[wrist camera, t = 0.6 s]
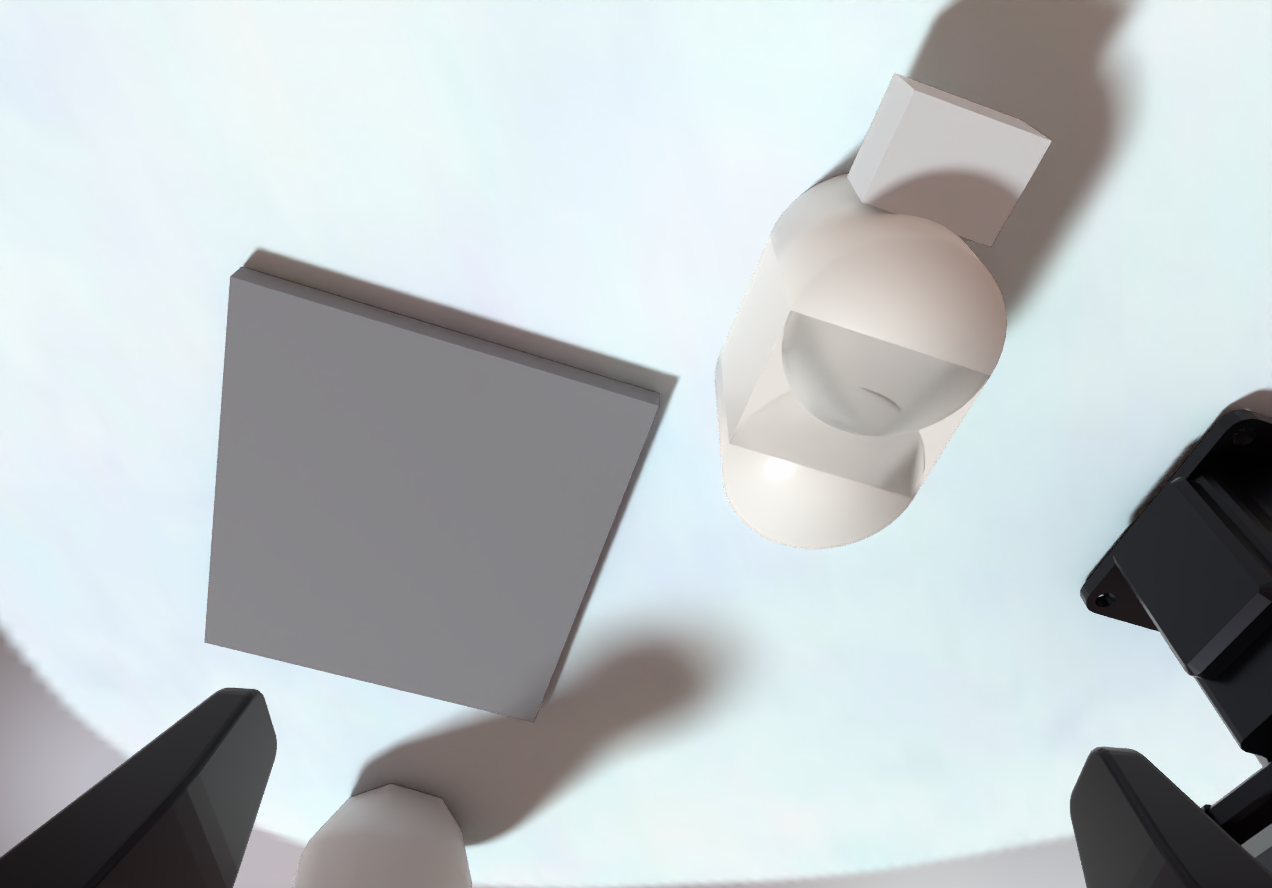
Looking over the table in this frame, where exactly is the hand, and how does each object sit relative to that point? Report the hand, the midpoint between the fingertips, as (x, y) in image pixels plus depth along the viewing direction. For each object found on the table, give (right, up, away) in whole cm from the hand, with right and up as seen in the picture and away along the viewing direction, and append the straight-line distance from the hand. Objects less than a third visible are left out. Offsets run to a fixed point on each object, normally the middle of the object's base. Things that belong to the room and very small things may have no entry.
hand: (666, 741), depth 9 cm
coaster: (-6, +1, +14) cm, 15 cm away
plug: (+4, +6, +10) cm, 13 cm away
